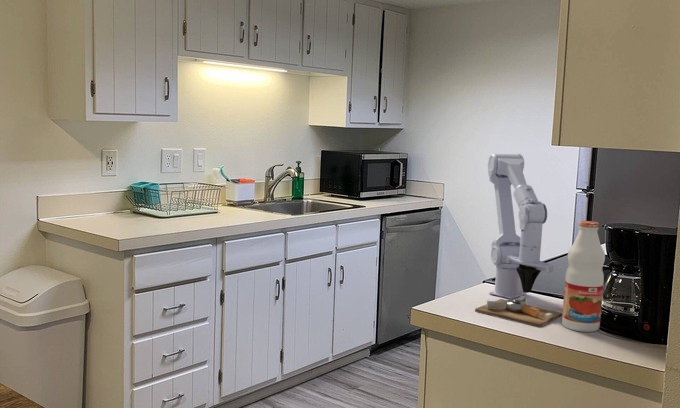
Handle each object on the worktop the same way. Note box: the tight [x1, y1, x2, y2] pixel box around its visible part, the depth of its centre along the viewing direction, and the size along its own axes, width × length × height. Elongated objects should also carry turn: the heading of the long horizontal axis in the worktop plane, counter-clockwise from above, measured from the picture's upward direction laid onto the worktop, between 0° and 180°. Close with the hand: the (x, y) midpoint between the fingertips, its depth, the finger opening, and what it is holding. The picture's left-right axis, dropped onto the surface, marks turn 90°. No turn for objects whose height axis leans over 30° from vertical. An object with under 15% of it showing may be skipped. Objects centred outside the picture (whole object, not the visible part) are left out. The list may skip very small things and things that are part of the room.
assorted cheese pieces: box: [486, 295, 540, 317], centre depth 182 cm, size 13×15×3 cm
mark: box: [545, 313, 553, 319], centre depth 177 cm, size 2×1×1 cm, turn 139°
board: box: [474, 298, 563, 328], centre depth 183 cm, size 15×19×1 cm
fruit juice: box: [561, 220, 606, 333], centre depth 171 cm, size 9×9×28 cm
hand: (526, 291), depth 188 cm, fingers closed
